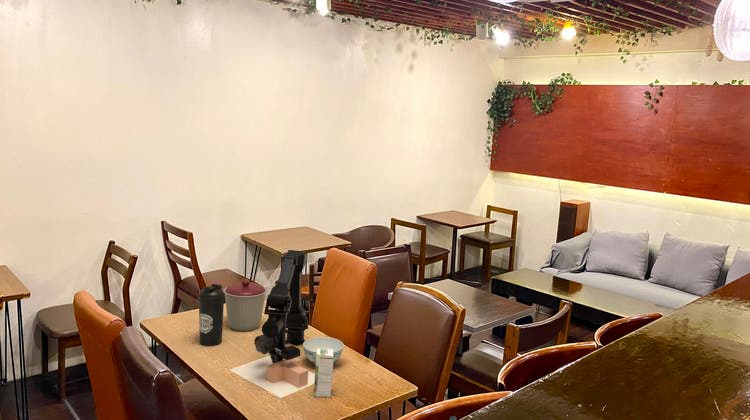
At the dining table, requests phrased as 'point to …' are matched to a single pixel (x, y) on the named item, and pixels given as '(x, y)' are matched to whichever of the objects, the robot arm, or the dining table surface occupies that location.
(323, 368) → the syrup box
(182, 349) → the dining table surface
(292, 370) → the t block
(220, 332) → the water bottle
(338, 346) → the chinaware
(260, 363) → the mat
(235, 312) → the canister
